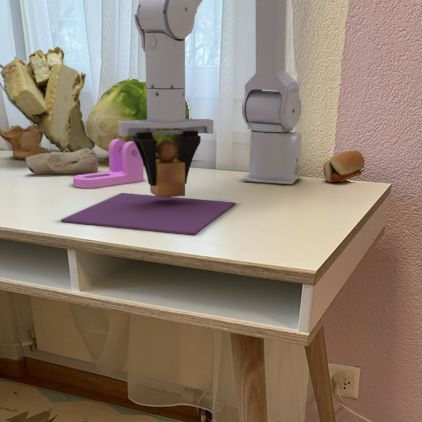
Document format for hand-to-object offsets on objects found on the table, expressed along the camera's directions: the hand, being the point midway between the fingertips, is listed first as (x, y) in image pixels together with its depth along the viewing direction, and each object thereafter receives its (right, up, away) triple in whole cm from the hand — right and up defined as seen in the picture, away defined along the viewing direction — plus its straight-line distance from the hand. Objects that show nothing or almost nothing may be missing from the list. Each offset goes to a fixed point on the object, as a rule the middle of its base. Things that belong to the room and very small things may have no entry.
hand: (167, 183), depth 95 cm
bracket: (-13, +5, +17) cm, 22 cm away
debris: (-30, +26, +36) cm, 54 cm away
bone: (-34, +19, +41) cm, 56 cm away
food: (+32, +13, +23) cm, 41 cm away
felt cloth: (-2, -5, -4) cm, 7 cm away
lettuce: (-6, +17, +36) cm, 41 cm away
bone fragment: (-18, +8, +20) cm, 28 cm away
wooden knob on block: (0, -1, +1) cm, 2 cm away
